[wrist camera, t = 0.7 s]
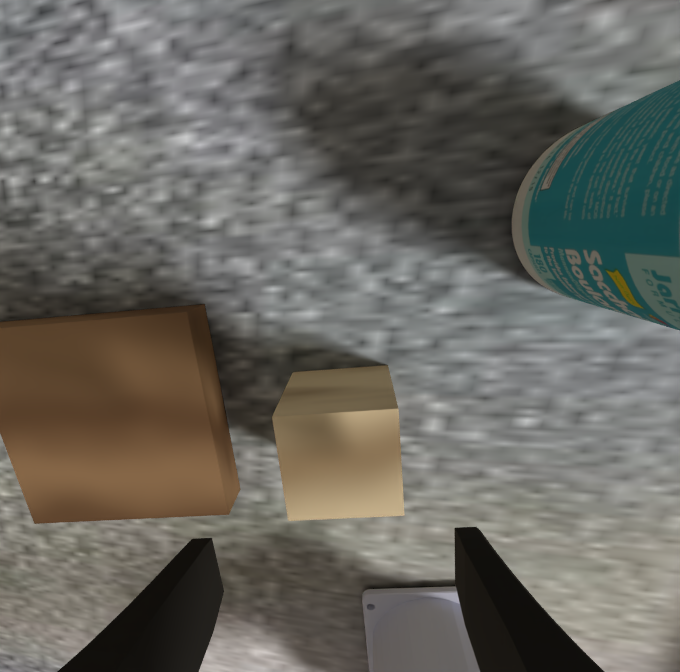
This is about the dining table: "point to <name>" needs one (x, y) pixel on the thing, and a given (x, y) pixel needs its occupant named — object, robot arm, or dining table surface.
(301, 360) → the dining table surface
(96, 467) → the walnut stand
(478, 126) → the dining table surface
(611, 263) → the pill bottle
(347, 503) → the maple cube
